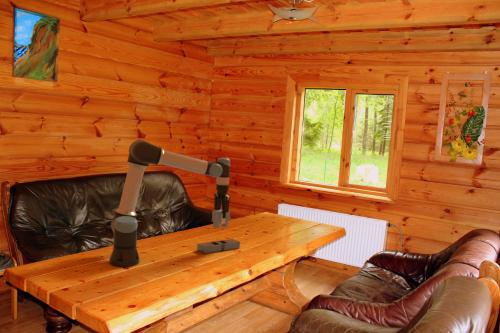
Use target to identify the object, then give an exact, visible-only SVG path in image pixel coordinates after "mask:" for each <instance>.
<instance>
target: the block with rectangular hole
mask: <svg viewBox="0 0 500 333" xmlns="http://www.w3.org/2000/svg"><path fill="white" fill-rule="evenodd" d="M196 245H197V246H196V251H198V252H199V253H201V254H204V255H207V254H211V253H218V252H225V251H230V250H235V249H236V250H237V249H240V248H241V241H239V240H236V239H234V238H230V239H221V240H216V241H215V240H214V241H209V242H207V241H206V242H201V243H197V244H196Z"/></svg>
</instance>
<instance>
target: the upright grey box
mask: <svg viewBox="0 0 500 333" xmlns="http://www.w3.org/2000/svg"><path fill="white" fill-rule="evenodd" d="M211 212H212V213H211V214H212V215H211V222H212V227H213V228H215V229H220V226H221V227H224V228H228V227H229V222H230V218H231V217H230V216H231V210H230V209H229V212H227V213H226V218H225V223H224V224H221V212H222V209H220V210H215V209H213V210H212V211H211Z"/></svg>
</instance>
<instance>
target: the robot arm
mask: <svg viewBox="0 0 500 333" xmlns="http://www.w3.org/2000/svg"><path fill="white" fill-rule="evenodd" d="M126 163H127V164H128V170H127V173H126V176H125V182H124V185H123V189H122V194H121V198H120V201H119V202H120V203H119V206H118V208H116V209H115V210H114V214H113V218H112V219H111V221H110V228H111V231H112V233H113V245H112V246H113V247H112V248H113V249H112V251H111V254H110V257H109V261H108V262H109V264H110V265H111V266H114V267H122V268H125V267H133V266H137V265H139V263H140V256H139V251H138V248H137V245H138V244H137V242H138V241H137V240H138V238H137V237H138V226H139V224H138V220H137V219H136V218H137V214H138V213H136V207H137V203H138V198H139V195H140V190H141V186H142V181H143V178H144V174H145V170H146V169H147V168H149V166H150V165H156V166H158V165H163V166H167V167H172V168H177V169H179V170H184V171H188V172H193V173H196V174H200V175H204V176H209V177H211V178H216V183H215V184H216V186H215V190H216V191H217V192H214V193H213V196H214V197H213V198H214V203H213V204H214V205H213V210H222V212H221V222H220V225H221V224H224V223H225V218H226V213H227V212H229V210H230V200H231V196H230V195H228V192H229V188H230V173H231V172H230V171H231V159H229V158H227V157H226V158H225V157H218V158H217V161H210V160H209V161H207V160H203V159H199V158H196V157H192V156H188V155H183V154H180V153H177V152H172V151H168V150H164V148H163V147H160V146H157V145H154V144H152V143H150V142H149V141H145V140H143V139H138V140H135V141H133V142H132V143H131V144H130V145H129V148H128V156H127V161H126Z"/></svg>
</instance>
